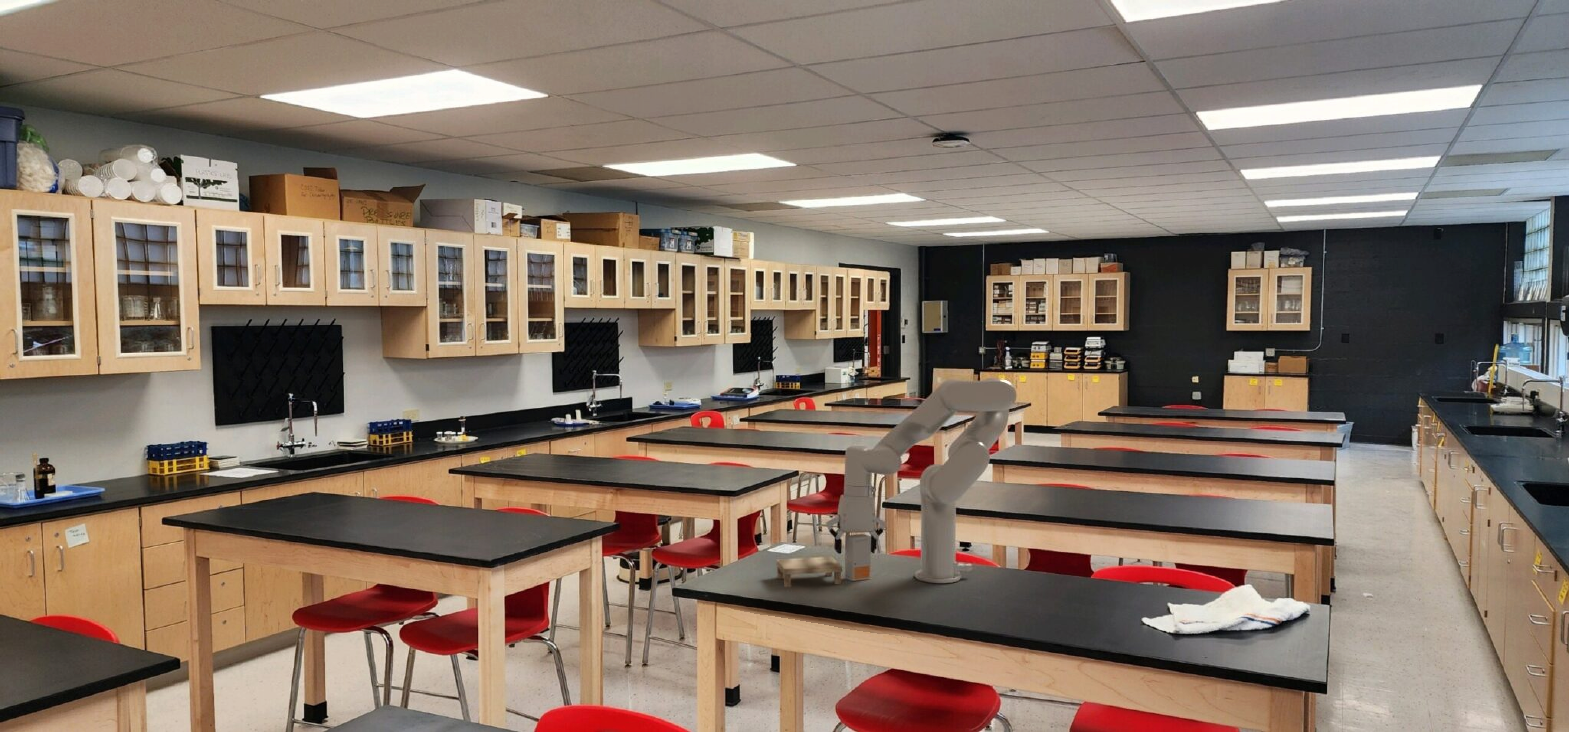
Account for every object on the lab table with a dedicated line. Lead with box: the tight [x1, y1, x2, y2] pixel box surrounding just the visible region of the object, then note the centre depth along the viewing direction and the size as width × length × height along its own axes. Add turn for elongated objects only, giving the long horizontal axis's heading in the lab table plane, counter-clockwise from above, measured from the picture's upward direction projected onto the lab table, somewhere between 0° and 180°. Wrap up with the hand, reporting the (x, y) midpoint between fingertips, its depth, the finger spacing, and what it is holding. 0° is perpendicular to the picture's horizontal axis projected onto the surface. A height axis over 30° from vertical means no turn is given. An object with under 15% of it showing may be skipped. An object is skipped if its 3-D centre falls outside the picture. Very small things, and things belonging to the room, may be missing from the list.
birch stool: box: [775, 556, 843, 588], centre depth 260 cm, size 16×11×5 cm
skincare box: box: [844, 533, 872, 582], centre depth 262 cm, size 6×4×12 cm
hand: (855, 552), depth 262 cm, fingers open, 9 cm apart
